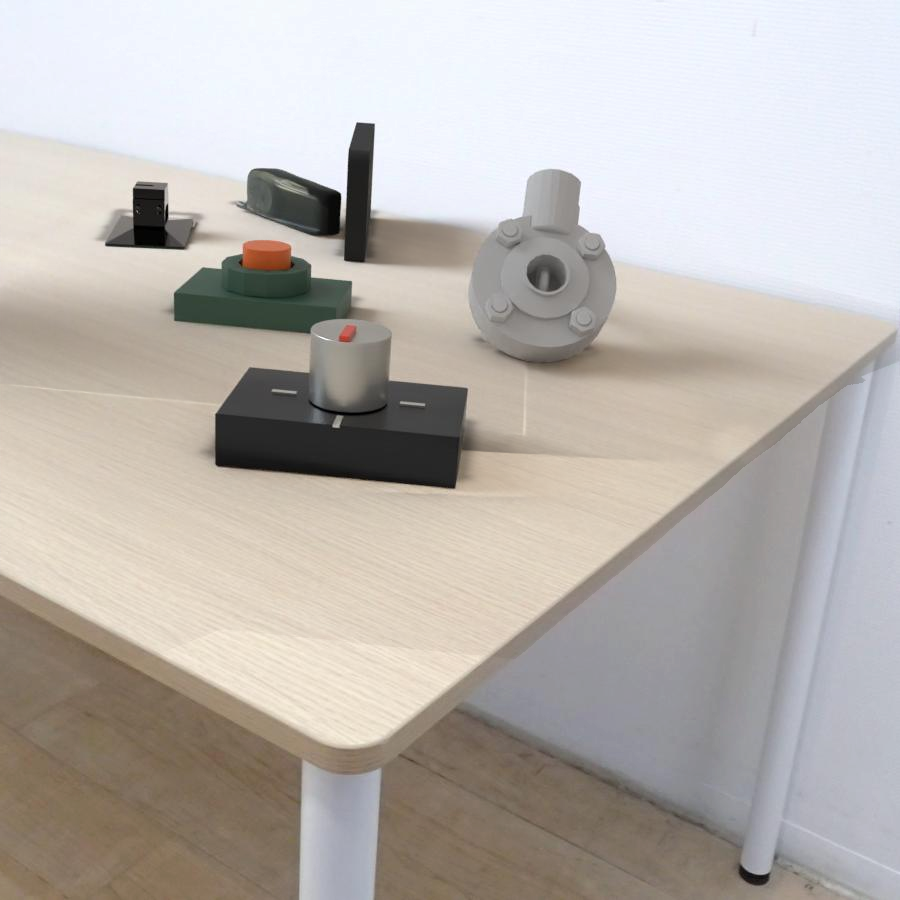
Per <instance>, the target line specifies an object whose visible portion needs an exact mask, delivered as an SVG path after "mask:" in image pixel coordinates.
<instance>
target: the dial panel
mask: <svg viewBox="0 0 900 900" xmlns="http://www.w3.org/2000/svg"><path fill="white" fill-rule="evenodd" d="M468 393H469V389H468V387H463V386H454V385H453V386H452V385H451V386H450V385H441V384H431V383H420V382H412V381H411V382H410V381H400V380H390V379H389V388H388V401H387V404H386V405H385V406H384V407H382V408H380V409H377V410H374V411H369V412H362V413H344V412H336V411H330V410H326V409H323V408H320V407H318V406H316V405H314V404H313V403H312V402H311V401H310V400H309V372H305V371H293V370H285V369H284V370H282V369H275V368H274V369H272V368H263V367H252V366H250V367H248V369H247V370H246V371H245V373H243V376H242V377H241V378H240V379H239V381H238V382H237V384H236V385H235V386H234V387H233V389H232V390H231V391H230V394H229V395H228V396H227V398H225V400H224V402H223V403H222V404H221V406H220V407H219V408H218V410H217V411H216V413H215V414H214V453H215V454H214V456H215V457H214V458H215V459H214V464H215V466H217V467H225V468H226V467H228V468H238V469H245V470H246V469H247V470H248V469H249V470H257V471H258V470H259V471H268V472H279V473H288V474H298V475H306V476H307V475H308V476H320V477H329V478H338V479H339V478H340V479H349V480H359V481H360V480H361V481H369V482H379V483H391V484H400V485H410V486H419V487H421V486H422V487H429V488H440V489H450V490H452V489H453V490H455V489H456V487H457V481H458V476H459V475H458V474H459V469H460V463H461V457H462V450H463V443H464V438H465V429H466V428H465V427H466V417H467V405H468Z"/></svg>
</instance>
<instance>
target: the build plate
mask: <svg viewBox="0 0 900 900" xmlns="http://www.w3.org/2000/svg"><path fill="white" fill-rule="evenodd" d="M169 202H170V201H169V183H168V182H160V181H159V182H157V181H135V184H134V185H133V188H132V215H129V214H128V215H127V214H122V215H121V214H120V217H119V219H118V220H117V222H116V223H115V225H114V227H113V229H112V230H111V232H110V234H109V236H108V237H107V239H106V241H105V242H104V246H105V247H108V248H109V247H111V248H131V249H132V248H135V249H152V250H153V249H154V250H175V251H176V250H178V251H179V250H180V251H183V250H185V249H186V246H187V243H188V240H189V237H190V234H191V231H192V228H195V227H196V224H197V223H196V222H195V221H194V218H192V217H189V218H188V217H170V214H169V210H170V208H169V206H170V205H169Z"/></svg>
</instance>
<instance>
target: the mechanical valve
mask: <svg viewBox="0 0 900 900" xmlns="http://www.w3.org/2000/svg"><path fill="white" fill-rule="evenodd" d="M581 186H582V182H581V180H580V179H579V178H578V177H577V176H576V175H574V174H573V173H571V172H568V171H566V170H562V169H558V168H546V169H540V170H538V171H535V172H533V173H532V174H531V175H529V176H528V178H527V180H526V186H525V193H524V194H525V195H524V201H523V209H522V215H521V216H519V217H516V218H514V219H513V218H508V219H505V220H502V221H500V222H498V225H497V227H496V229H494V230H493V231H492V232H491V233H490V234H489V235H488V236H487V237H486V238H485V240H484V241H483V242H482V243H481V245H480V247H479V248H478V251H477V252H476V254H475V257H474V262H473V265H472V270H471V273H470V274H471V275H470V279H469V283H468V294H467V297H468V305H469V309H470V313H471V316H472V318H473V321H474V322H475V325H476V326H477V328H478V330H479V331H480V337H481V339H482V340H483V341H485V342H486V343H488V344H492V345H493V346H494V347H495V348H496V349H498V350H500V351H501V352H503V353H505V354H506V355H508V356H511V357H513V358H516V359H518V360H522V361H527V362H530V363H544V364H545V363H555V362H559V361H562V360H567V359H569V358H571V357H575V356H579V355H580V354H581V353H582V351H583V350H585V349H586V348H588V347H589V346H590V345H591V343H593V342H594V341H595V340H596V338H597V337H598V335H599V334H600V333H601V330H603V327H604V325H605V323H606V321H607V319H608V318H609V316H610V313H611V312H612V309H613V307H614V303H615V300H616V294H617V275H616V271H615V266H614V264H613V263H614V262H613V261H612V258H611V257H610V256H611V255H610V254H609V252H608V251H607V250H606V243H605V241H604V239H603V238H602V235H601V234H600V233H595V232H590V231H589V230H588V229H586V228H585V227H583V226H582V225H580V224H579V219H580V211H581V210H580V209H581V208H580V205H579V204H580V195H581Z"/></svg>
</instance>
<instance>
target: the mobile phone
mask: <svg viewBox="0 0 900 900" xmlns="http://www.w3.org/2000/svg"><path fill="white" fill-rule="evenodd" d="M236 208H239V209H242V210H245V211H248V212H250V213H254V214H256V215H259V216H261V217H264V218H267V219H269V220H271V221H275V222H277V223H280V224H283V225H285V226H287V227H288V228H292V229H295V230H298V231H301V232H303V233H306V234H309V235H312V236H317V237H330V236H337V235H339V234H340V231H341V213H342V212H341V210H342V193H341V192H340V191H338V190H336V189H334V188H331V187H328V186H325V185H322V184H321V183H317V182H315V181H312V180H310V179H307V178H304V177H301V176H300V175H299V176H298V175H296V174H294V173H292V172H289V171H287V170H284V169H281V168H270V167H269V168H268V167H267V168H266V167H256V168H253V169H250V171H249V172H248V174H247V178H246V201H245V202H243V201H237V202H236Z"/></svg>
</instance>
